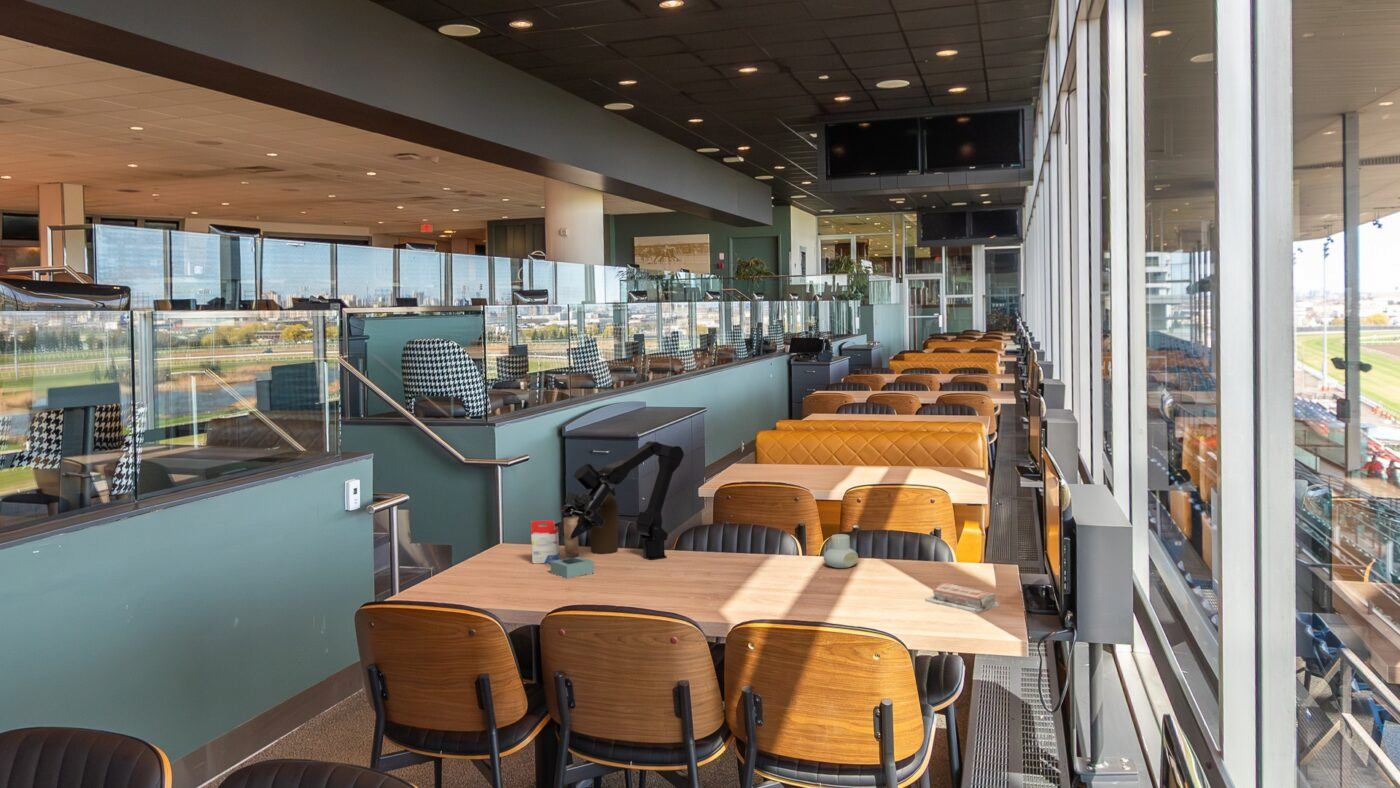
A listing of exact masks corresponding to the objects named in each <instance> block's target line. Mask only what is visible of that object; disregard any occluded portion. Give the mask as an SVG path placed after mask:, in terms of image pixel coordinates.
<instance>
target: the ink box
mask: <svg viewBox="0 0 1400 788" xmlns="http://www.w3.org/2000/svg"><path fill="white" fill-rule="evenodd" d="M542 524H545V525H542ZM530 525H531V527H530V537H531V560H532V564H533V563H551V561H554V560H560V559H561V558H560V541H559V527H558V526H556V525H555V520H531V522H530Z"/></svg>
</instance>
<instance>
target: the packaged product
mask: <svg viewBox="0 0 1400 788" xmlns="http://www.w3.org/2000/svg"><path fill="white" fill-rule="evenodd" d="M932 593H933V595H931V596H929V597H926V598H924V601H925V602H927V603H932V604H937V605H941V606H945V607H948V608H952V609H957V610H962V611H966V612H971V613H974V614H980V613H984V612H987V611H990V610H995V609H997V608H999V607H1000V604H999V601H998V602H997V601H996V599H995V598H996V596H995V593H993V592H989V591H984V590H980V589H976V588H972V587H967V586H961V585H956V584H952V583H947V582H946V583H945V582H942V583H940V584H939V585H937V586H936V587H934V589H933V591H932Z"/></svg>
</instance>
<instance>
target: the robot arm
mask: <svg viewBox="0 0 1400 788" xmlns="http://www.w3.org/2000/svg"><path fill="white" fill-rule="evenodd" d="M684 455H685V454H684V451H683V448H682V447H680V446H679V445H670V444H663V443H660V442H657V441H654V440H653V441H652V440H650V441H649V440H648V441H646V442H645V443H644V444H643V445H642V446H640V447H639V448H637V449H636V450H635V451H633V452H632V453H629V455H628V454H627V456H626V457H624V458H623V459H621V460H619V461H616V462H615V461H614V462H611V463H609V464H607V465H604V466H603V467H602V468H601V469H600V470H596V469H595V468H594V467H593V465H592V464H591V463H589V462H587V463H585V464H584V465H582V466H581V467H579V468H578V469H577V470H575V472H574V474H573V479H575V480H576V481H577V482H578V483H579V484H580V485H581V486H582V487H583V488H584V489H585V490H589V491H588V493H584V492H579V493H577V494H576V493H573V492H572V493H571V492H567V495H566V497H565V500H564V502H565V503H567V504H564V505H563V506H562V507H561V508H560V511H561V512H562V514H564V515H565V516H566V517H577V521H578V524H577V526H576V527H575V529H574V531H573V532H572V534H571V536H570V537H571V538H572V539H573V538H575V537H577V536H578V537H579V536H580V535H582V534H584V533H586V532H588V531H590V529H592V528H595V526H594V524H595V523H596V526H597V527H601V528H602V526H603V525H604V524H605V519H604V518H603V517H602V516H601V515H600V514H599V513H598V512H597V510H598V509H602V508H603V506H602V503H603V502H604V500H605V499H606V498H607V496H608V495H611V496H612V497H613V496H614V497H616V495H617V494H616V488H615V487H613V486H610V485H616V486H617V485H619V484H621V483H622V482H624V480H626V478H627V477H628V476H629V473H630V472H631V471H632V470H634V469H635V468H636V467H638V466H639V465H641V464H642V463H644V462H645V461H648V459H650V458H651V457H652V456H657V457H658V459H657V462H658V466H659V469H658V472H657V475H656V479H655V482H654V486H653V489H652V493H651V495H650V497H649V502H648V504H647V508H646V509H645V510H644V511H639V513H638V517H637V520H636V521H635V524H636V530H637V533H638V534H639V535H640V538H641V539H642V540H643V544H642V557H643V558H645V559H647V560H650V561H651V560H657V559H665V558H667V555H666V553H665V552H666V551H665V541H667V540H668V536H669V533H668V532H667V531H666V530H665V529H663V526H662V525H663V516H662V510H663V507H664V505H665V501H666V498H667V493H668V490H669V488H670V484H671V481H672V478H673V474H674V472H675V471H676V470H677V469H678V468H679V467H680V465H681V463H682V461H683V459H684ZM601 480H602V481H603V482H602V481H601ZM609 484H610V485H609ZM570 504H571V505H570ZM562 536H563V537H564V531H563V532H562Z"/></svg>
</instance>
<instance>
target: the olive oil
mask: <svg viewBox="0 0 1400 788" xmlns="http://www.w3.org/2000/svg"><path fill="white" fill-rule="evenodd" d="M600 480H601V479H600ZM601 481H602V480H601ZM602 482H603V481H602ZM618 505H619V504H618V502H617V500H616V499H615V498H614V497H613V496H612V495H608V496H607V498H606V499H605V500H604V502H603V503H602V506H603V508H602V509H598V510H597V512H598V513H599V514H600V515H601V516H602V517H603V518H604V519H605V524H604V525H603V526H602V528H601V527H597V526H596V523H595V524H594V526H595V528H592V529H590V530H589V538H590V552H591V553H592V552H593V553H592V554H595V553H598V554H597V555H607V553H609V554H613V552H614V553H616V551H617V550H619V542H618V541H619V540H618V539H619V537H618V536H619V533H618V532H619V530H618V529H619V506H618ZM617 552H618V551H617Z"/></svg>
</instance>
